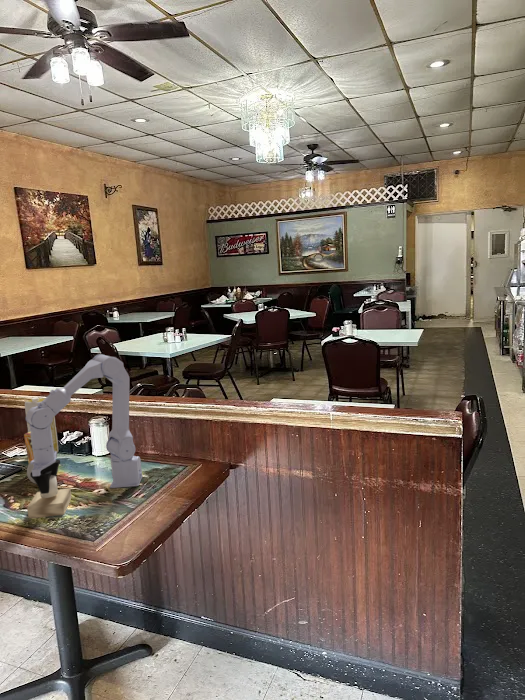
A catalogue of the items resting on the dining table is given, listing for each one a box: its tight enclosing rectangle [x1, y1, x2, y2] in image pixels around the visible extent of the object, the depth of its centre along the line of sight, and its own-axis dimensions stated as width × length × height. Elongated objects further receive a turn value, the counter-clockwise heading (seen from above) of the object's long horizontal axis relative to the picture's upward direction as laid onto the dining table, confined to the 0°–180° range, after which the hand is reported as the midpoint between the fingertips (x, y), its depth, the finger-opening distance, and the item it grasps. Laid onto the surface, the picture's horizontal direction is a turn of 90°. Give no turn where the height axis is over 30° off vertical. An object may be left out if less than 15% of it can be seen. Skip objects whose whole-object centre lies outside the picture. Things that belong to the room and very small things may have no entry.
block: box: [27, 488, 73, 520], centre depth 150 cm, size 10×10×4 cm
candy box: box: [23, 431, 34, 465], centre depth 175 cm, size 9×4×15 cm, turn 67°
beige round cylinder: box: [39, 475, 59, 498], centre depth 149 cm, size 5×5×5 cm
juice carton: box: [24, 396, 59, 454], centre depth 193 cm, size 9×8×24 cm
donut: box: [26, 463, 59, 485], centre depth 167 cm, size 10×4×10 cm, turn 124°
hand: (48, 488), depth 149 cm, fingers closed on beige round cylinder, 5 cm apart
